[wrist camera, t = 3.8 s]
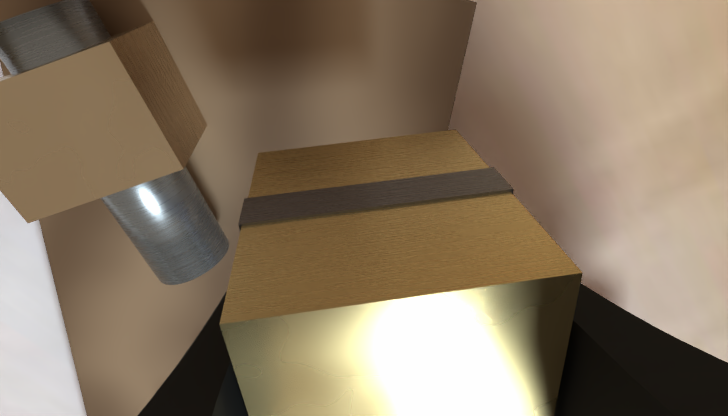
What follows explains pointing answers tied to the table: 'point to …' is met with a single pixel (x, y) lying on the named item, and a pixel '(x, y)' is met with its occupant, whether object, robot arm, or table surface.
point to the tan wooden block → (394, 286)
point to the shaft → (105, 134)
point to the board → (240, 151)
